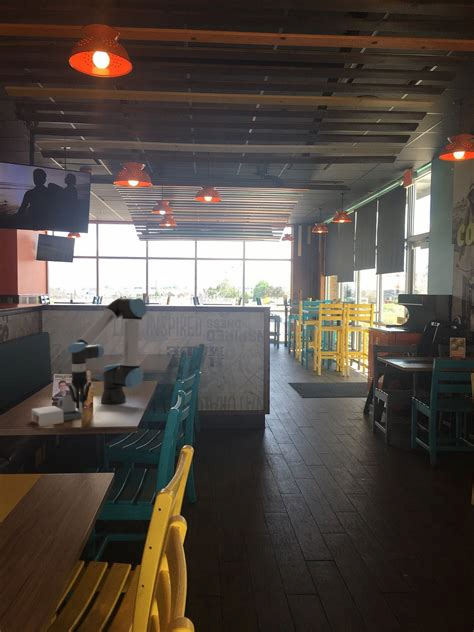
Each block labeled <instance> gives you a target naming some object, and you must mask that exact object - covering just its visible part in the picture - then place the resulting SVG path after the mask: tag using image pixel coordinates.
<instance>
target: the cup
mask: <svg viewBox="0 0 474 632" xmlns="http://www.w3.org/2000/svg"><path fill="white" fill-rule="evenodd" d="M75 398H76V397H75ZM57 407H58V408H60V409H62V410H63V412H65V411H72V410H76V411H77V408H76V402H73V401H72V397H71V394H67V395H63V396H62V397H60V398H59V399H58V400H57Z"/></svg>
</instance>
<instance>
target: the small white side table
mask: <svg viewBox="0 0 474 632" xmlns="http://www.w3.org/2000/svg"><path fill="white" fill-rule="evenodd" d="M31 422H33V423H35V424H37V425H38V426H39V427H44V426H52V425H57V424H63V423H64V422H65V421H63V410H62V409H60V408H59V407H58V406H56V405H51V406H44V407H36V408H31Z"/></svg>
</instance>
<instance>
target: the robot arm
mask: <svg viewBox="0 0 474 632" xmlns="http://www.w3.org/2000/svg"><path fill="white" fill-rule="evenodd" d="M146 313H147V304H146V302H145V301H144V299H142V298H140V297H137V296H135V297H133V296H132V297H126V296H125V297H119V298H116V299H115V300H113V301H111V302H110V304H108V305H107V306H106V307H105V308H104V310H103V313H102V314H101V315H100V316H99V317H98V318H97V319H96V320H95V322H93V324H92V325H90V327H89V328H88V329H87V330H86V331H85V332H84V333H83V335H82V336H80V338H79V339H78V340H77V341H76V342H73V343H72V342H71V343H70V344H69V345H68V346H67V348H66V349H67V353H68V355H69V356H71V371H72V372H71V381H70V383H69V384H67V385H66V387H67V388H68V390H69V393H70V394H69V395H71V397H72V401H73V402H76V410H77V411H79V412H81V413H82V414H83V408H84V406H85V405H84V403H85V402H86V401H87V400H88V398H89V397H88V396H89V392H90V387H91V386H92V383H91V382H89V381H88V379H87V360H89V359H90V360H91V359H97V358H102V357H103V356H104V354H105V348H104V346H103V345H102V344H101V343H100V344H99V343H98V344H97V343H95V341H97V340H98V339H99V337H100V336H101V335H102V334H103V333H104V332H105V331H106V330H107V329H108V327H109V326H110V325H111V324H112V323H113V322H115V321H117V320H118V319H119V318H121V317H122V321H123V322H124V331H123V347H122V348H123V350H122V362H121V363H117V364H109V365H105V366H104V367H103V368H102V369H103V370H102V371H103V372H102V379H103V383H102V384H103V392H102V395H101V398H100V403H101V404H104V405H117V404H122V403H125V401H126V402H127V398H126V394H125V392H124V387H126V388H128V389H130V388H137V387H138V386H139V385H140V384H141V383H142V382H143V378H144V373H143V371H142V369H141V368H140V364H139V362H138V352H139V351H138V350H139V336H140V335H139V333H140V332H139V331H140V322H142V321H143V317H144V316H145V315H146ZM94 343H95V344H94ZM73 387H74V389H75V390H74V389H73ZM74 391H75V392H74ZM75 397H76V398H75Z"/></svg>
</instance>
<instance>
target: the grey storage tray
mask: <svg viewBox="0 0 474 632" xmlns="http://www.w3.org/2000/svg"><path fill="white" fill-rule="evenodd" d="M82 419H83V412H82V413H81V412H79V411H78V410H77V409H76V410H72V411H65V412H63V421H64V422H71V421H76V420H82Z"/></svg>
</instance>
